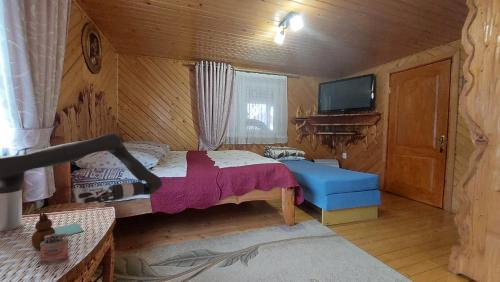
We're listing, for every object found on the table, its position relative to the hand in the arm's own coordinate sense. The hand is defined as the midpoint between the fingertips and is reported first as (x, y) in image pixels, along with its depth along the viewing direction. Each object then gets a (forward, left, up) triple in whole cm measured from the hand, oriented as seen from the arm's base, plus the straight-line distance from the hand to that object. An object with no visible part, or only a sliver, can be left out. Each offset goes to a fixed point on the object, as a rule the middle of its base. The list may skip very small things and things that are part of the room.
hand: (81, 198), depth 97 cm
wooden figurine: (0, -12, -18) cm, 21 cm away
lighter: (+14, -11, -18) cm, 25 cm away
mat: (-11, -3, -17) cm, 21 cm away
